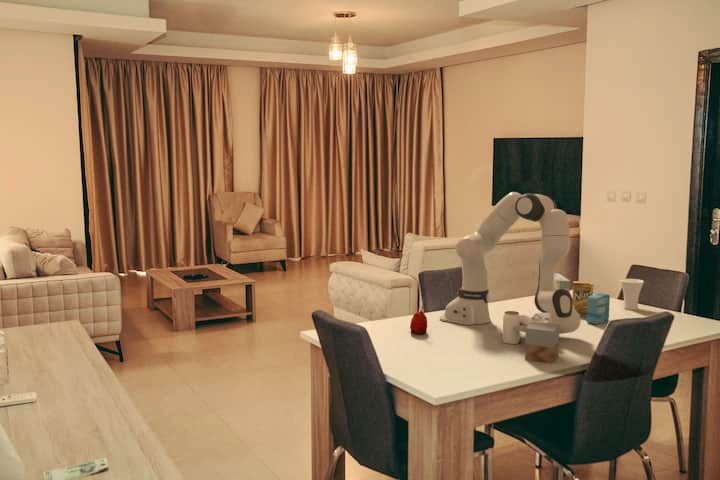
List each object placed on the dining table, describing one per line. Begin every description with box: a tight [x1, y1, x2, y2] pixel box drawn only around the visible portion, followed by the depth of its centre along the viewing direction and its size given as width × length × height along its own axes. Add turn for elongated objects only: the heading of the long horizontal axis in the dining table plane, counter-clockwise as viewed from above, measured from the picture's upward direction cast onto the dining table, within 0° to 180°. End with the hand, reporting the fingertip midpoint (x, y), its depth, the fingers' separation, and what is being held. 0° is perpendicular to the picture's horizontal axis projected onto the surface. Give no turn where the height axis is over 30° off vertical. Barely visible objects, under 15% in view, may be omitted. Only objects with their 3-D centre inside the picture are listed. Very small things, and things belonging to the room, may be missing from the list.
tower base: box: [524, 341, 560, 365], centre depth 257 cm, size 10×10×6 cm
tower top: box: [524, 322, 560, 348], centre depth 256 cm, size 10×10×6 cm
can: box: [502, 310, 521, 345], centre depth 277 cm, size 6×6×12 cm
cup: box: [619, 278, 645, 311], centre depth 333 cm, size 10×10×14 cm
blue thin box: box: [586, 292, 611, 325], centre depth 309 cm, size 12×4×12 cm, turn 134°
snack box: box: [554, 272, 571, 294], centre depth 337 cm, size 21×6×15 cm, turn 179°
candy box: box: [572, 280, 594, 317], centre depth 321 cm, size 9×4×15 cm, turn 68°
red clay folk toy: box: [409, 298, 428, 335], centre depth 291 cm, size 8×7×15 cm
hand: (509, 326), depth 277 cm, fingers closed on can, 6 cm apart
